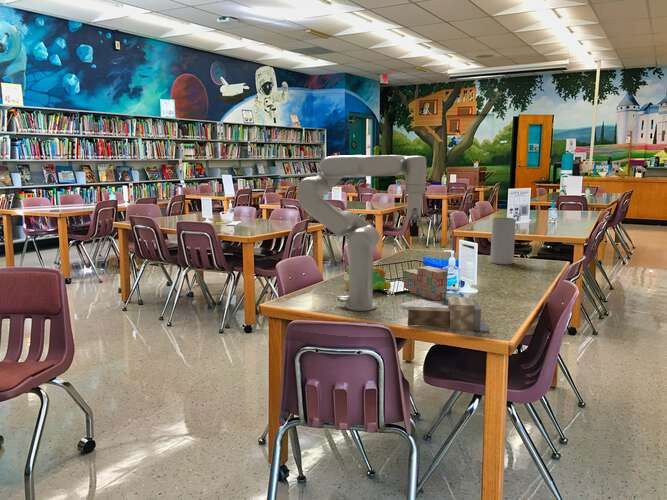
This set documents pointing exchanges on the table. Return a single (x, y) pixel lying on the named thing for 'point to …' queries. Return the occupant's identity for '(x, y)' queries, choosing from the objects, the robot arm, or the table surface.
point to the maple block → (461, 313)
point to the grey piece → (478, 319)
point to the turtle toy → (376, 279)
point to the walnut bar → (429, 316)
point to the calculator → (421, 304)
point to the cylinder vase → (502, 240)
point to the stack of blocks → (427, 282)
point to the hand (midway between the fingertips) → (413, 234)
